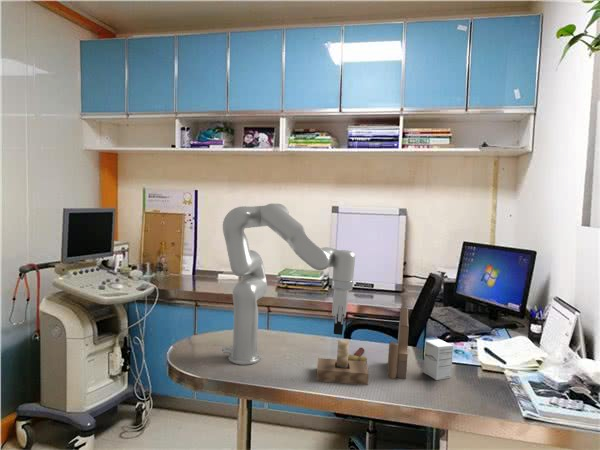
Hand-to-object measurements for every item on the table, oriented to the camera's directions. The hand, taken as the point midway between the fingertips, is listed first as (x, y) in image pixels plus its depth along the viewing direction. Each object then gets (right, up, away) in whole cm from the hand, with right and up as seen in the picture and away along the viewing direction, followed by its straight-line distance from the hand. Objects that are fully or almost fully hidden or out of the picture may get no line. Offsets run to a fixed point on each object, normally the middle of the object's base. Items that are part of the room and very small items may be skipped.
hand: (337, 333), depth 152 cm
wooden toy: (+23, -16, +7) cm, 29 cm away
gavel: (+10, -15, +18) cm, 26 cm away
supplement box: (+38, -17, +5) cm, 42 cm away
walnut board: (+1, -16, 0) cm, 16 cm away
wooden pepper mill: (+1, -15, 0) cm, 15 cm away
